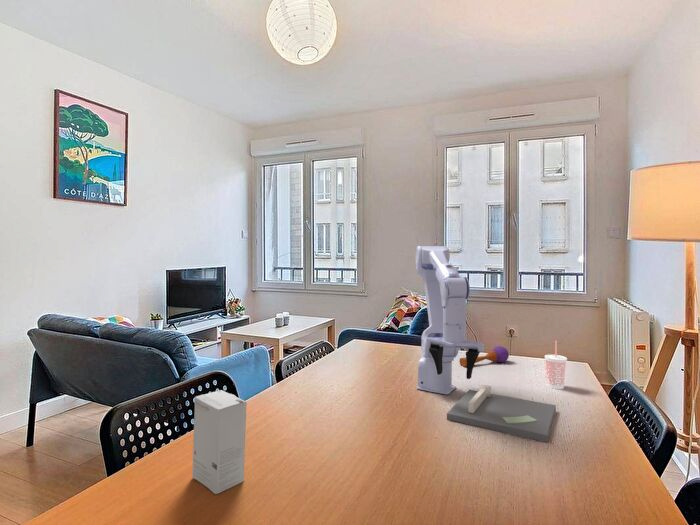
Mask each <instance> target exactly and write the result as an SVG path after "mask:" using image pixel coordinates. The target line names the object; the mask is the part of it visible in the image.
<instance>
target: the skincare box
mask: <svg viewBox="0 0 700 525" xmlns="http://www.w3.org/2000/svg"><path fill="white" fill-rule="evenodd" d="M246 424H247V401H246V400H243V399H242V398H240V397H239V396H238V397H237V396H236V395H235V394H232V393H229V392H226V391H225V390H222V389H220V390H217V391H212V392H208V393H205V394H200V395H196V396H194V417H193V438H192V439H193V441H192V442H193V446H192V469H191V470H192V472H191V477H192V479H194V480H195V481H198V482H199V483H200V484H202V485H203V486H204V487H206V488H207V489H209V490H210V492H212V493H213V494H215V495H218V494H220V493H222V492H224V491H227V490H228V489H231V488H233V487H235V486H237V485H239V484H241V483H244V482H245V478H244V477H245V458H246V457H245V456H246V454H245V452H246V427H247V425H246Z"/></svg>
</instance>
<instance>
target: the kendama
mask: <svg viewBox="0 0 700 525" xmlns="http://www.w3.org/2000/svg"><path fill="white" fill-rule="evenodd" d="M509 353H510V352H509V351H508V349H507V348H506V347H504V346H501V345H498V346H495V347H494V348H493V349H491V350H490V351H488V352H487V354H485V355H482V356H478V357H477V359H476V362H475V364H477V363H479V362H481V361H485V360H488V361H491V362H494V363H495V362H496V363H500V362H502V363H505V362H506V361H507V360H509V356H510V354H509ZM459 365H460V367H462V366H463V367H462V368H467V361H466V357H461V358H459Z"/></svg>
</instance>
